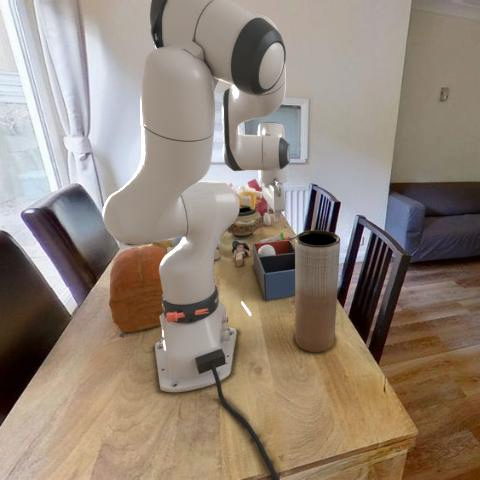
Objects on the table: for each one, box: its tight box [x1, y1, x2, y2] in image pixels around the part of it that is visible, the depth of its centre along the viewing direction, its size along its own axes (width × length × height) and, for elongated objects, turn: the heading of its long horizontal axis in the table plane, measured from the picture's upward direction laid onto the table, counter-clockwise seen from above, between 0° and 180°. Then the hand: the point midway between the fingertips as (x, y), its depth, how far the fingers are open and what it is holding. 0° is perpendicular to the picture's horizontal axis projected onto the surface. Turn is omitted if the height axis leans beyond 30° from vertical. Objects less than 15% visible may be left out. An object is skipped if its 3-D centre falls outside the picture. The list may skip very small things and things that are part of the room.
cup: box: [257, 232, 285, 243], centre depth 126 cm, size 8×8×15 cm
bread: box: [108, 245, 168, 333], centre depth 88 cm, size 16×27×16 cm, turn 29°
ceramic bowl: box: [225, 207, 263, 240], centre depth 140 cm, size 24×18×15 cm
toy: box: [247, 178, 272, 227], centre depth 159 cm, size 28×30×15 cm
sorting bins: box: [251, 239, 295, 301], centre depth 105 cm, size 24×14×9 cm, turn 19°
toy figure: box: [231, 240, 252, 267], centre depth 120 cm, size 7×6×15 cm
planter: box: [294, 229, 341, 353], centre depth 73 cm, size 10×10×28 cm
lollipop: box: [258, 245, 275, 257], centre depth 109 cm, size 6×6×15 cm
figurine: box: [151, 237, 182, 253], centre depth 132 cm, size 13×25×6 cm, turn 154°
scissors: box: [284, 233, 299, 240], centre depth 139 cm, size 8×21×2 cm, turn 154°
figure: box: [234, 183, 263, 209], centre depth 136 cm, size 17×18×9 cm
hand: (273, 217), depth 104 cm, fingers open, 8 cm apart
